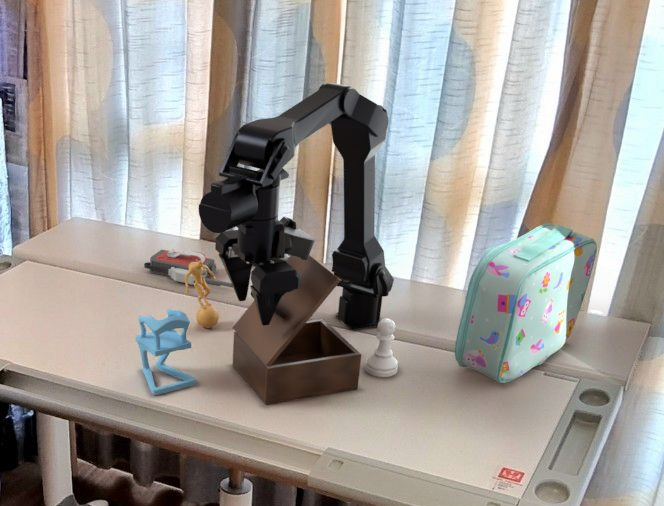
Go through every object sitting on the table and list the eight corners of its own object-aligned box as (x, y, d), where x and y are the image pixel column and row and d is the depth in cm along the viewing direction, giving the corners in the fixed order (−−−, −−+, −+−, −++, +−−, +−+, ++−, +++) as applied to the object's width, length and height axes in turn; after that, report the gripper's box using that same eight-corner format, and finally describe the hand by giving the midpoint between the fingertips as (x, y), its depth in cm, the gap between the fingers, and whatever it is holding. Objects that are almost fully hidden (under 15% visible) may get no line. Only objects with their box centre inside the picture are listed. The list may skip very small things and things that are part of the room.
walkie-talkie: (138, 275, 204) (231, 295, 195) (137, 254, 201) (232, 273, 193) (159, 260, 210) (250, 278, 201) (159, 240, 208) (251, 257, 199)
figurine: (202, 338, 179) (204, 273, 173) (174, 328, 183) (175, 264, 177) (230, 321, 185) (232, 258, 179) (202, 313, 188) (204, 250, 182)
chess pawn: (376, 360, 171) (382, 310, 167) (403, 370, 168) (410, 319, 164) (359, 370, 168) (364, 319, 164) (385, 380, 165) (392, 329, 161)
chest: (319, 352, 174) (322, 318, 171) (357, 390, 163) (361, 354, 159) (232, 366, 170) (233, 331, 167) (265, 405, 159) (267, 368, 156)
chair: (171, 363, 171) (171, 296, 165) (197, 384, 165) (198, 315, 159) (129, 374, 168) (128, 306, 162) (154, 396, 162) (154, 326, 156)
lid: (301, 248, 163) (281, 232, 161) (341, 280, 152) (319, 263, 149) (235, 330, 167) (214, 315, 164) (269, 367, 156) (247, 352, 153)
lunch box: (523, 323, 183) (547, 205, 172) (580, 341, 176) (609, 219, 165) (443, 374, 167) (463, 248, 156) (502, 396, 160) (528, 266, 149)
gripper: (338, 228, 145) (329, 330, 152) (283, 188, 160) (277, 282, 168) (264, 238, 142) (258, 341, 150) (215, 196, 157) (212, 291, 165)
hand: (253, 312), depth 158 cm, fingers open, 9 cm apart
